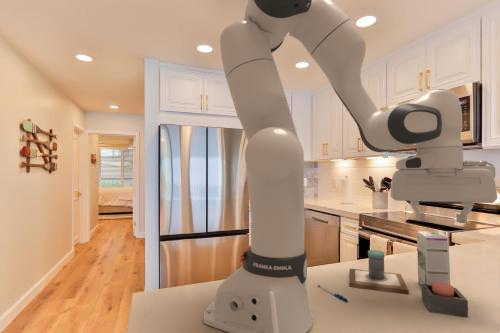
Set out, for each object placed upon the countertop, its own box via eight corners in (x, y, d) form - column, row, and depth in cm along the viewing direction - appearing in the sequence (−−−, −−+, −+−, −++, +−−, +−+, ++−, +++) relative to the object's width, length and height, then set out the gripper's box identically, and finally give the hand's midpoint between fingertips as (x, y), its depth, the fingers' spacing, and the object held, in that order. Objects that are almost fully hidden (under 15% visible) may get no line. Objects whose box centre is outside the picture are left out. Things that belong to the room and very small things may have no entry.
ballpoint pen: (349, 302, 65) (349, 298, 65) (346, 303, 65) (346, 299, 65) (318, 286, 75) (318, 283, 75) (316, 287, 74) (316, 283, 74)
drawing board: (349, 286, 74) (349, 281, 74) (349, 271, 86) (349, 267, 86) (408, 294, 70) (408, 289, 70) (400, 277, 81) (400, 273, 81)
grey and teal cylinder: (368, 279, 76) (368, 253, 76) (367, 273, 80) (367, 249, 80) (385, 280, 75) (385, 254, 75) (383, 275, 79) (383, 250, 79)
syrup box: (451, 294, 70) (450, 236, 70) (425, 292, 71) (424, 235, 71) (440, 285, 75) (439, 231, 76) (416, 283, 77) (416, 230, 77)
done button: (435, 297, 62) (435, 287, 62) (430, 290, 65) (430, 281, 66) (456, 300, 60) (456, 290, 60) (450, 293, 64) (450, 283, 64)
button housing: (429, 311, 61) (429, 295, 61) (421, 298, 67) (421, 283, 67) (468, 317, 58) (467, 300, 58) (456, 302, 65) (455, 287, 65)
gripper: (488, 161, 64) (489, 221, 63) (389, 162, 70) (389, 217, 70) (502, 159, 58) (504, 226, 57) (392, 161, 64) (393, 221, 64)
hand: (440, 221), depth 64 cm, fingers open, 7 cm apart
